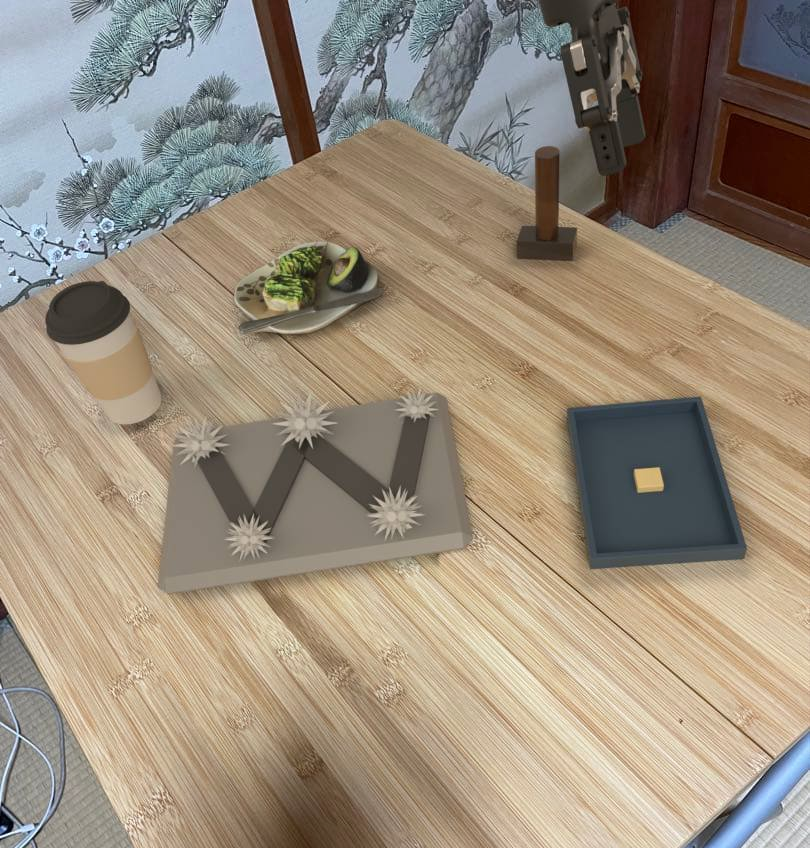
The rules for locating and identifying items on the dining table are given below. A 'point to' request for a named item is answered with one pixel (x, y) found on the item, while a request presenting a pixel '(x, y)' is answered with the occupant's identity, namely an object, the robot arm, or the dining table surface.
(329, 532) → the constellation board
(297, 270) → the avocado toast plate
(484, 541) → the dining table surface
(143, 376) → the coffee cup
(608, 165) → the robot arm
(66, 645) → the dining table surface
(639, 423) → the tray
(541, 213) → the wooden peg on stand
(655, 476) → the crumb
